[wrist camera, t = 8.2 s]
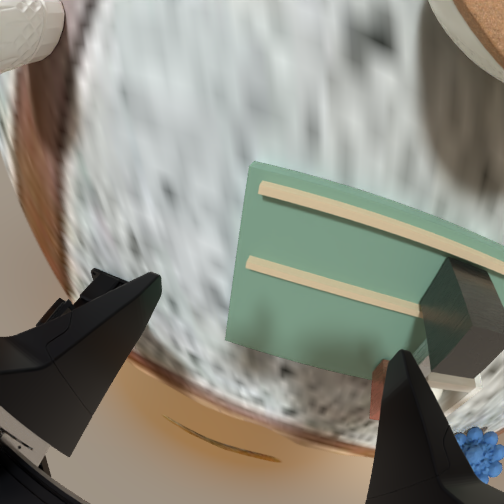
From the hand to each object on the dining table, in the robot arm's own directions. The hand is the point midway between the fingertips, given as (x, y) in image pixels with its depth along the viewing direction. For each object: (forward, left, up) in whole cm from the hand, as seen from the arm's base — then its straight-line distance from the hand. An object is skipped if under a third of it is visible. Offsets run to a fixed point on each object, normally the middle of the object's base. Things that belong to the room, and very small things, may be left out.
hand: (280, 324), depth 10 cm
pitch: (-8, -9, -12) cm, 16 cm away
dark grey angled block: (-8, -12, -10) cm, 18 cm away
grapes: (-28, -38, -12) cm, 48 cm away
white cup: (+12, +26, -12) cm, 31 cm away
